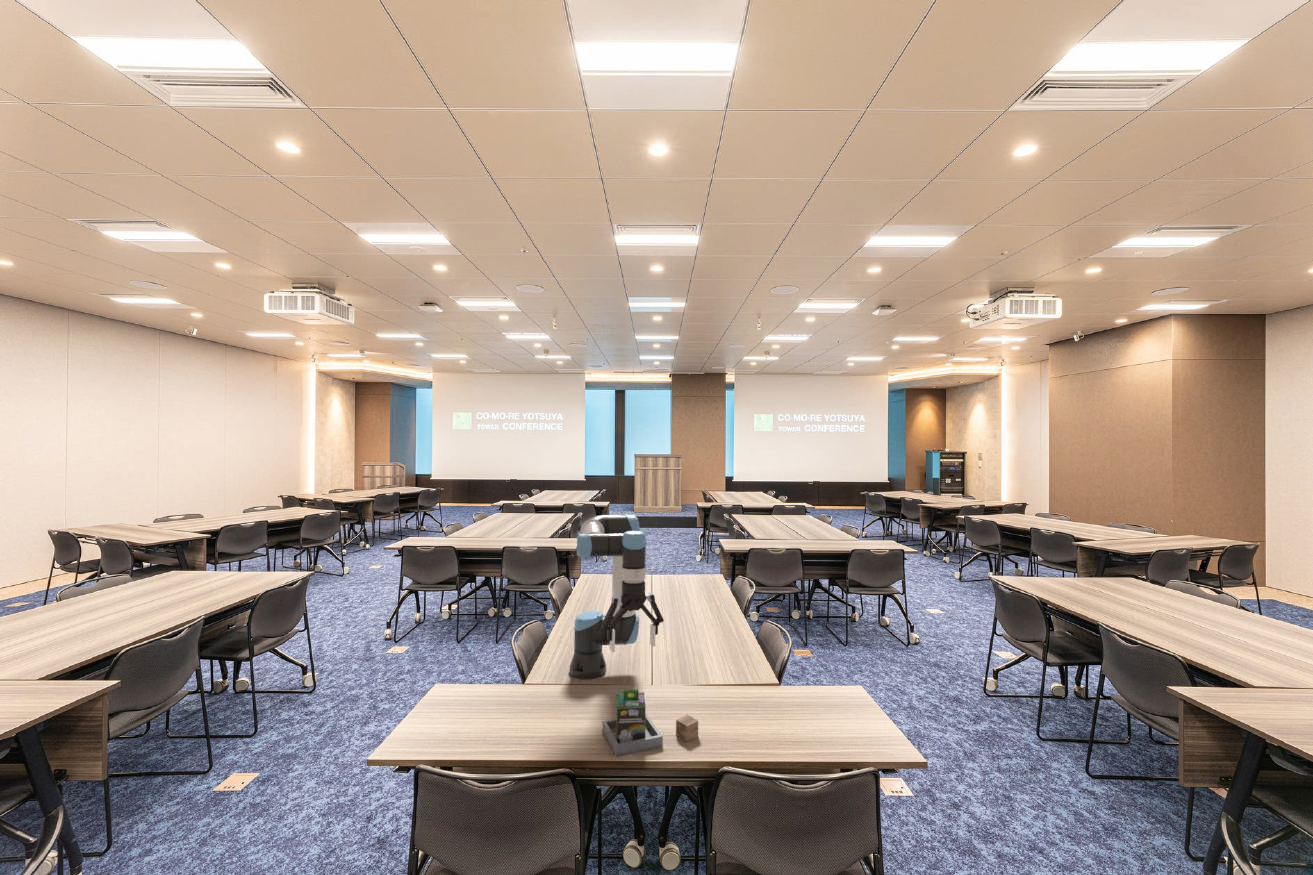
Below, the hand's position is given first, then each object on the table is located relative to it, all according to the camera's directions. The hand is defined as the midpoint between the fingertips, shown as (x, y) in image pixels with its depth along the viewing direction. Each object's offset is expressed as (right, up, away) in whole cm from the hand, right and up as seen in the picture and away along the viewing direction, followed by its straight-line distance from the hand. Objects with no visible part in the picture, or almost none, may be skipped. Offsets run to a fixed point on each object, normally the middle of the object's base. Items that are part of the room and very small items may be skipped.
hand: (632, 647), depth 157 cm
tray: (0, -28, -1) cm, 28 cm away
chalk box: (-1, -28, -1) cm, 28 cm away
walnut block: (+17, -28, 0) cm, 33 cm away
